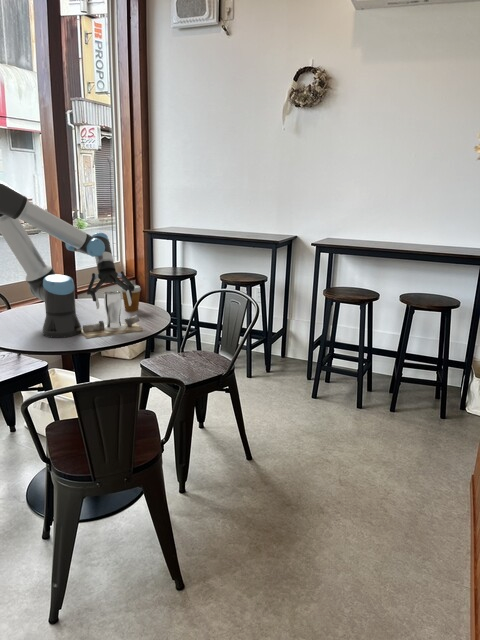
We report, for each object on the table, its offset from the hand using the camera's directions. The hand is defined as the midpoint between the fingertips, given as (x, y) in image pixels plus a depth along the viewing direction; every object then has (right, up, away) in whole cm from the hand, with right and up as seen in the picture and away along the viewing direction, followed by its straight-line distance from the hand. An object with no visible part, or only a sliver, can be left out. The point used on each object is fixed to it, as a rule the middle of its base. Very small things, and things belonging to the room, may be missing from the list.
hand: (114, 305), depth 205 cm
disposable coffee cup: (0, -1, +33) cm, 33 cm away
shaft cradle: (-1, -11, 0) cm, 11 cm away
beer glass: (0, -9, 0) cm, 9 cm away
